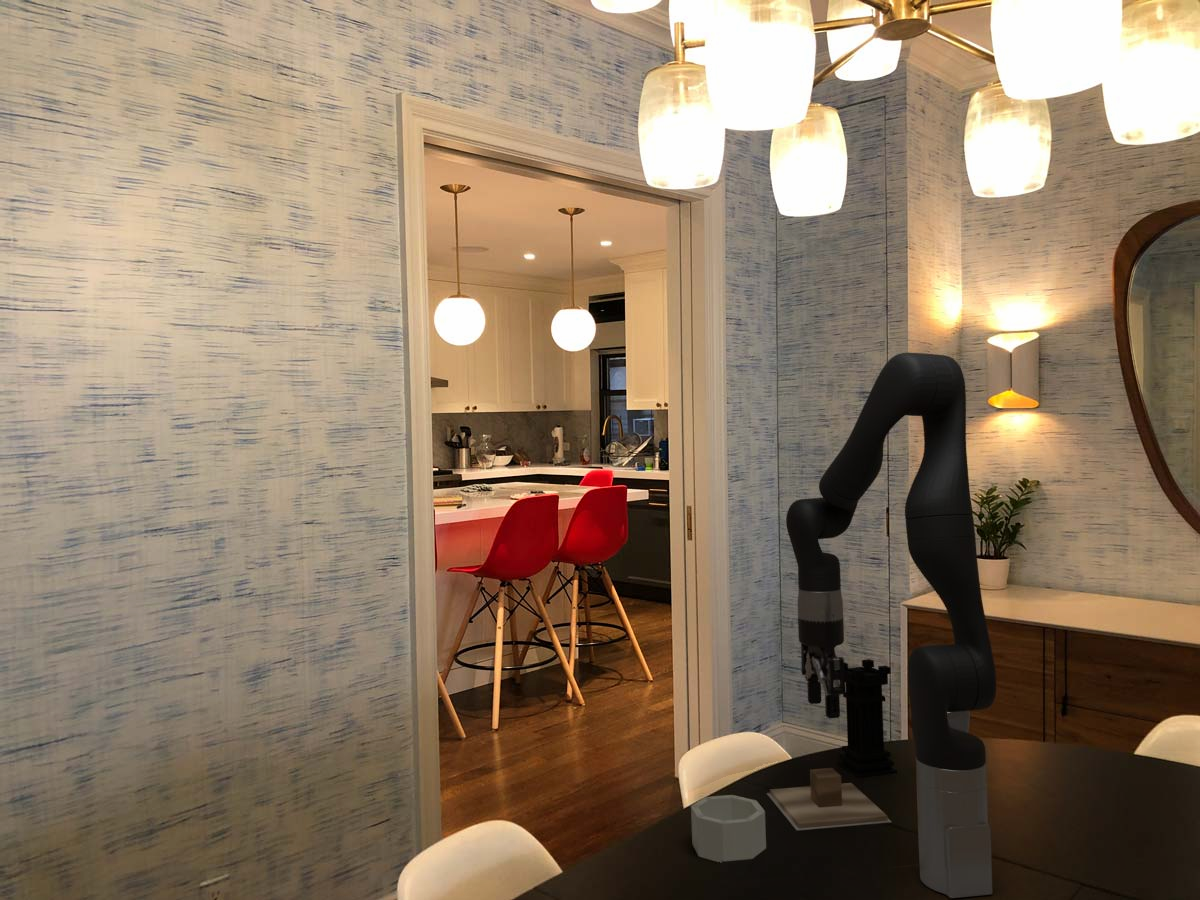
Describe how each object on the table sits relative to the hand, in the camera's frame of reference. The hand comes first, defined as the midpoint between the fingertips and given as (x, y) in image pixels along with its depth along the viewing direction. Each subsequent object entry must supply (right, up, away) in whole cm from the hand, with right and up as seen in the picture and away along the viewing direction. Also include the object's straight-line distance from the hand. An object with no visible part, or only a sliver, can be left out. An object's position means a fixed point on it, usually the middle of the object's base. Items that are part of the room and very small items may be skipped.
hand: (823, 710), depth 155 cm
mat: (+1, -17, 0) cm, 17 cm away
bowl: (-18, -18, -13) cm, 28 cm away
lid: (0, -16, 0) cm, 16 cm away
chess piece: (+12, -17, +17) cm, 27 cm away
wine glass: (+24, -16, +7) cm, 30 cm away
